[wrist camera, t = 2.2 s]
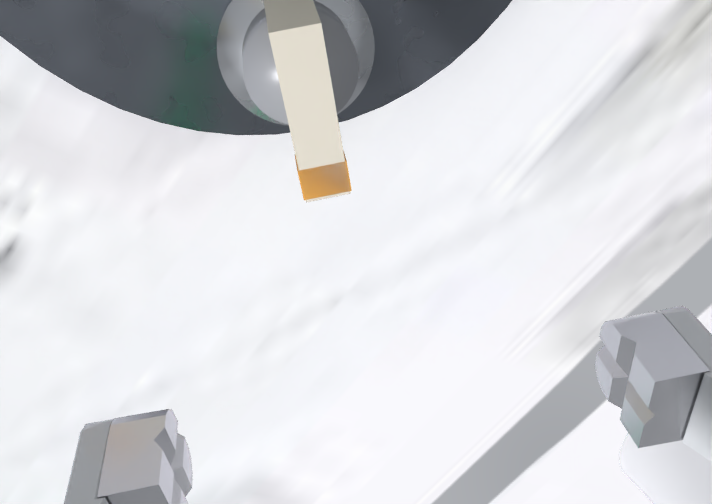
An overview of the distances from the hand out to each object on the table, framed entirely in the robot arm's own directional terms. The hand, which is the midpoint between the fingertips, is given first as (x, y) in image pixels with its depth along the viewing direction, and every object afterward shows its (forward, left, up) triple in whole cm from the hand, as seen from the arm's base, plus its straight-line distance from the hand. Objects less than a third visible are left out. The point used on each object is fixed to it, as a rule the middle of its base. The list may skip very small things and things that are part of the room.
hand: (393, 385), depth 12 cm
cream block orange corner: (0, 0, -18) cm, 18 cm away
